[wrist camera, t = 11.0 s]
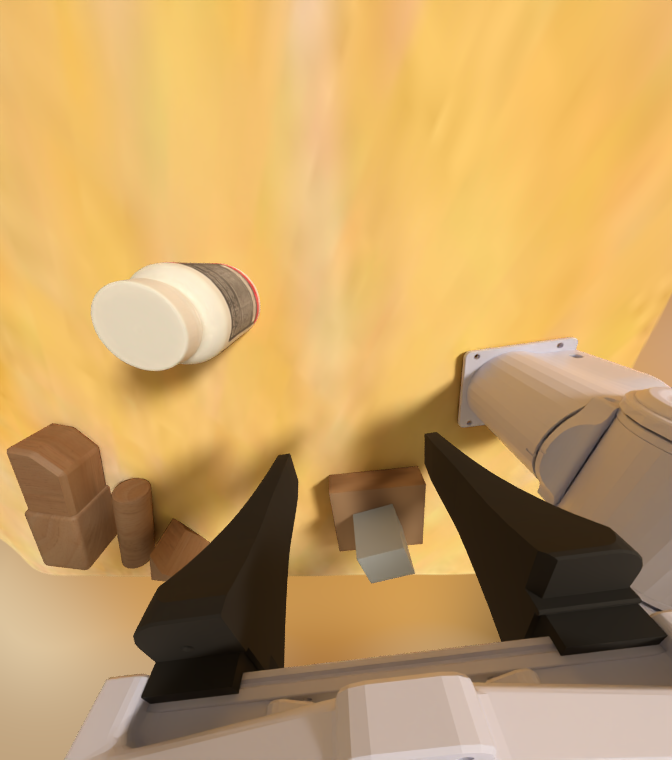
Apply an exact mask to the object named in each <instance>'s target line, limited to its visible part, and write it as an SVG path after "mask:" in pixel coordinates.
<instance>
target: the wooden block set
mask: <svg viewBox="0 0 672 760" xmlns="http://www.w3.org/2000/svg"><path fill="white" fill-rule="evenodd" d="M7 454H8V457H9V460H10V462H11V465H12V467H13V470H14V473H15V475H16V478H17V480H18V483H19V485H20V488H21V491H22V493H23V496H24V498H25V501H26V504H27V506H28V510H27V511H26V512H25V516H26V519H27V521H28V524H29V526H30V529H31V531H32V534H33V536H34V539H35V541H36V544H37V546H38V549H39V551H40V554H41V556H42V559H43V561H44V563H45V564H46V565H48V566H56V567H64V568H72V569H80V570H87V569H89V568H90V567H91V566H92V565H93V563H94V562H95V561H96V560H97V558H98V557H99V556H100V555H101V553H102V552H103V551H104V550H105V548H106V547H107V546H108V545H109V543H110V542H111V541H112V540H113V538H114V537H115V536H116V535H118V540H119V546H120V552H121V558H122V563H123V565H124V566H125V567H127V568H138V567H140V566H143V565H144V564H146V563H147V562H148V561H149V560H150V567H151V577H152V580H158V581H167V580H168V579H170V578H171V577H172V576H173V575H174V574H176V573H177V572H178V571H179V570H181V569H182V568H183V567H184V566H185V565H187V564H188V563H189V562H190V561H191V560H192V559H193V558H195V557H196V556H197V555H198V554H199V553H200V552H201V551H202V550H203V549H204V548H206V547H207V546H208V545H209V544H210V542H208V541H207V540H206V539H204V538H203V537H201V536H200V535H198V534H197V533H195V532H194V531H192V530H191V529H189V528H188V527H186V526H185V525H184V524H182V523H181V522H179V521H177V520H175V519H173V520H172V521H171V523H170V524H169V526H168V527H167V529H166V531H165V532H164V534H163V535H162V537H161V539H160V540H159V542H158V543H157V545H156V546H155V538H154V524H153V510H152V496H151V485H150V483H149V482H148V481H147V480H145V479H141V478H134V479H130V480H127V481H124V482H122V483H121V484H119V485H118V486H117V487H116V488H115V489H114V490H113V492H112V494H111V492H110V487H109V486H108V485H105V480H104V475H103V469H102V464H101V458H100V453H99V447H98V446H97V445H96V444H95V443H94V442H92V441H91V440H90V439H89V438H87V437H86V436H85V435H83V434H82V433H81V432H80V431H78V430H77V429H76V428H74V427H69V426H64V425H58V424H53V423H52V424H50V425H49V426H47V427H45V428H43V429H42V430H40V431H38V432H36V433H34V434H33V435H31V436H29V437H27V438H26V439H24V440H22V441H20V442H18V443H17V444H15V445H13V446H11V447H10V448H8V449H7Z"/></svg>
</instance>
